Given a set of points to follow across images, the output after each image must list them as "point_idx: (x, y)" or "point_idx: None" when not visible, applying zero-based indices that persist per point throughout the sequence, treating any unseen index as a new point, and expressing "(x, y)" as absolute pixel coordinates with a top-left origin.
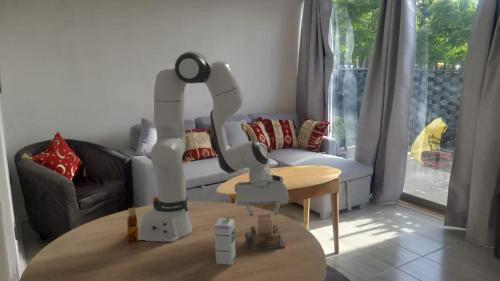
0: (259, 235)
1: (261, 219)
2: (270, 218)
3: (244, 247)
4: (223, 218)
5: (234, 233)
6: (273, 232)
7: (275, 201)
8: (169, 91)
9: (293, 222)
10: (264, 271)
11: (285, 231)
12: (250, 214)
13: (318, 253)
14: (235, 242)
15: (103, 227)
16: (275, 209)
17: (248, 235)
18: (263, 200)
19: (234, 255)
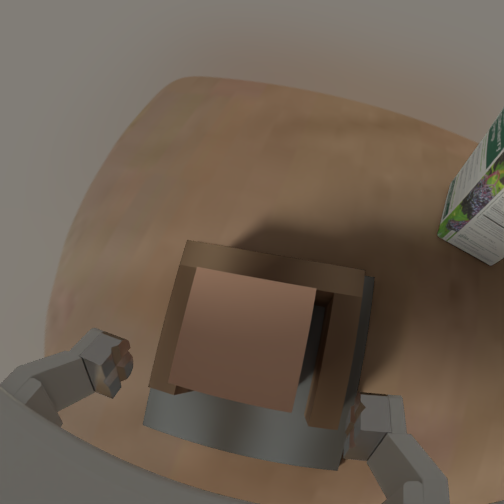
0: (318, 275)
1: (289, 300)
2: (195, 294)
3: (389, 314)
4: None
5: (499, 155)
6: None
7: (26, 407)
8: None
9: None
10: (337, 117)
11: (115, 410)
12: (386, 396)
13: (99, 176)
14: (469, 200)
15: None
16: (91, 355)
17: (339, 428)
18: (162, 487)
19: (451, 199)
